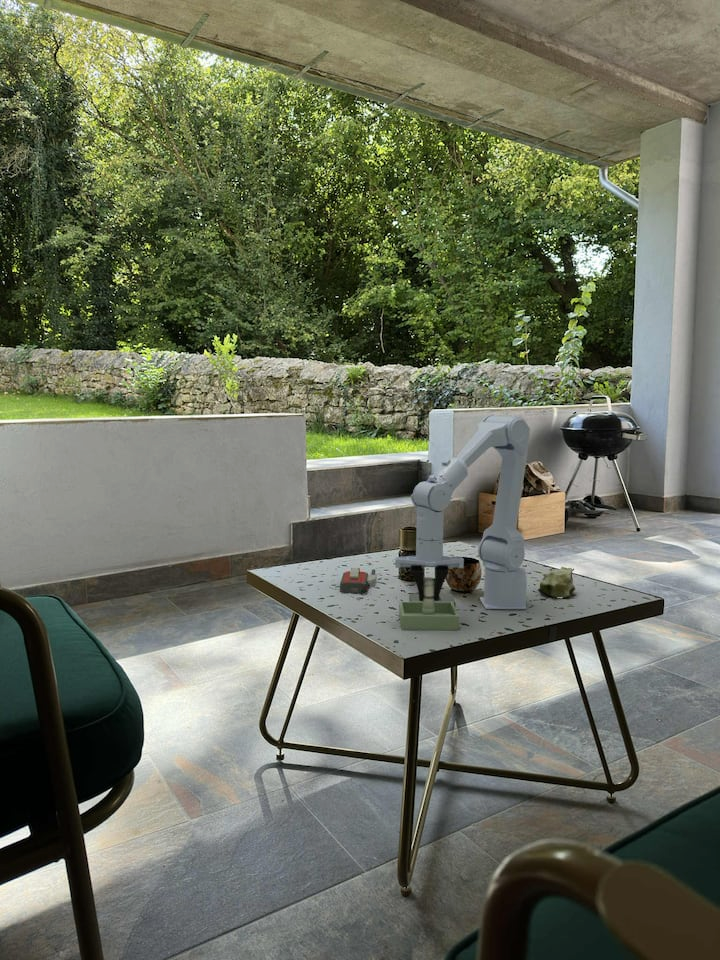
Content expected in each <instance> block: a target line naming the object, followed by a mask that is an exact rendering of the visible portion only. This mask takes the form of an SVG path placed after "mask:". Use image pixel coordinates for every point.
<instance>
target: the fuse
mask: <svg viewBox="0 0 720 960" xmlns="http://www.w3.org/2000/svg"><path fill="white" fill-rule="evenodd" d="M434 604H435V577H428V576H427V577H423V601H422V613H423V614H426V615H432V614H434V613H435V607H434Z"/></svg>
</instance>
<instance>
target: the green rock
mask: <svg viewBox="0 0 720 960" xmlns="http://www.w3.org/2000/svg"><path fill="white" fill-rule="evenodd" d="M574 571H575V568H572V567H568V568H567V567H565V566H561V567H560V568H559V569H553V570H551V571H549V572H548V573H543V574H541V576H542V577H543V578H542V580H541V581H540V583H539V588H538V589H537V591H541V592H542V593H545V594H547V595H548V596H550V597H552V598H555V597H565V598H568V596H569V597H570V595H571V594H573V593H574V591H575V590H576V587H575V585H574V581H573V580H574V579H573V572H574ZM555 599H556V598H555Z"/></svg>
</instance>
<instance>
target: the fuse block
mask: <svg viewBox="0 0 720 960" xmlns="http://www.w3.org/2000/svg"><path fill="white" fill-rule="evenodd" d="M408 595H409V596H408V598H409V599H408V602H422V601H420V600H419V593H409V594H408ZM435 602H453V603H454V605H455V608H456V605H457V603H456V601H455V598H454V596H453V593H440V594H439V599H438V601H435ZM456 609H457V608H456Z"/></svg>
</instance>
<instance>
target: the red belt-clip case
mask: <svg viewBox="0 0 720 960" xmlns="http://www.w3.org/2000/svg"><path fill="white" fill-rule="evenodd" d="M376 583H377V574H376V569H374V568H373V569H371V573H370V574H369V573H368V572H365V571H361V569H360V567H351V569H350V571H349V570H348V571H345V572H343V574H342V577H341V580H340V583H339V593H340V592H341V594H349V593H351V595H352V594H353V595H354V594H358V595H363V594H367V592H368V589H371V588H373V587H374V588H375V587H376Z"/></svg>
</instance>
